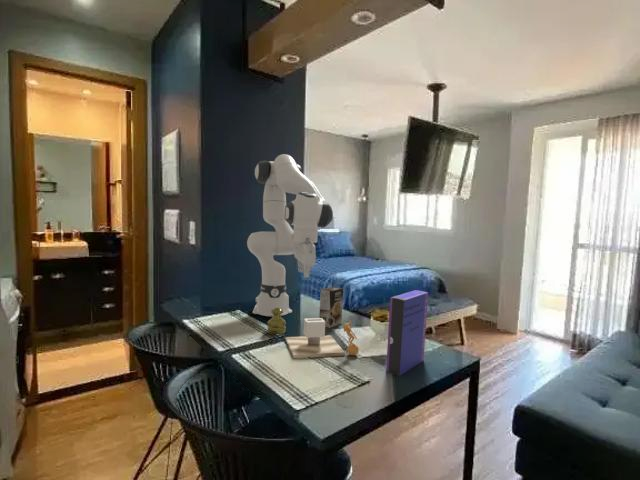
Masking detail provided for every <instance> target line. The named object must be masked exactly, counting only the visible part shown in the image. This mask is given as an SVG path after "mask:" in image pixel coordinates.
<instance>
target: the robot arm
mask: <svg viewBox="0 0 640 480" xmlns="http://www.w3.org/2000/svg"><path fill="white" fill-rule="evenodd" d="M302 170H303V169H302V167H301V165H299V164H298V163H297V162H296V160H295V159H294V157H292V156H291V155H290V154H287V153H286V154H285V153H282V154H279V155H277V156H276V157H275V159H274V161H273V160H272V161H271V160H270V161H268V160H261V161H259V162H258V163H257V164H256V166H255V168H254V176H255V177H254V178H255V180H256V181H257V182H258V183H259V184H263V185H264V190H263V197H262V218H263V220H264V222H265V223H267V224H269V225H270V226H272V227H273V228H274V229H275V231H255V232H252V233H250V234H249V235H248V238H247V241H246V246H247V249H248V251H249V252H250V253H251V254H252V255H254V256H255V257H256V259H258V262H259V264H260V267H261V284H260V293H259V294H258V295H257V296H256V297H255V303H256V304H255V306H254V307H253V310H252V314H254V315H260V316H265V317H273V316H274V315H273V313H272V312H271V310H272V309H275V308H280V309H282V310H283V313H282V314H281V315H280V316H281V317H282V316H283V317H284V316H285V315H288V314H291V313H293V310H292V309H291V308H290V305H289V304H290V302H289V301H290V300H289V299H290V297H289V295H288V294H287V292H286V290H287V284H286V268H285V267H286V266H285V265H283V263H281V262H280V261H279V262H278V261H277V260H275V259H274V256H291V255H294V258H295V259H296V260H297V269H298V273H303V277H304V278H310V272H311V268H313V267H315V266H316V250H317V249H316V245H315V244H316V243H318V236H319V235H318V234H319V228H323V229H324V228H326V227H327V226H328V225H330V224H331V223H332V221H333V217H334V211H333V208H332V206H331V205H330V203H329V202H328V201H327V200H326V199H324V197H323V195H322V194H321V193H320V190H319V189H318V188H317V186H316V185H315V184H314V182H313V181H312V180H311V179H309V178H308V177H307V176H305V175H304V174H303V171H302ZM286 193H288V194H292V195H296V196H295V199H294V200H290V201H289V202H288V203H287V195H286ZM291 226H293V228H292V227H291Z"/></svg>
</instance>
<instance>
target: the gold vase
mask: <svg viewBox="0 0 640 480" xmlns="http://www.w3.org/2000/svg"><path fill="white" fill-rule="evenodd" d="M271 312H272V313H273V315H274V316H271V318H270V319H268V320H267V325H268V326H267V327H266V328H267V333H268V334H269V333H270V335H273V334H281V335H284V334H285V333H286V329H287V327H286V324H287V322H286V320H285V319H284V318H283V317H282V316H280V315H281V314H282V313H283V310H282V309H280V308H275V309H272V310H271Z"/></svg>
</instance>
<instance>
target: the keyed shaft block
mask: <svg viewBox="0 0 640 480" xmlns="http://www.w3.org/2000/svg"><path fill="white" fill-rule="evenodd" d="M285 340H286V341H285ZM284 341H285V343H286V342H287V343H286V345H287V344H288V345H287V347H288V350H289V351H291V352H290V353H291V356H292V358H293V359H305V358H306V359H308V357H310V358H325V357H343V356H346V352H345V351H344V349H343V348H342V347H341V346H340V345H339V343H338V342H337V341H336V340H335V338H334V337H333V336H332V335H325V337H308V338H306V336H305V335H304V336H287V337H286V336H285V339H284Z"/></svg>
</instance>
